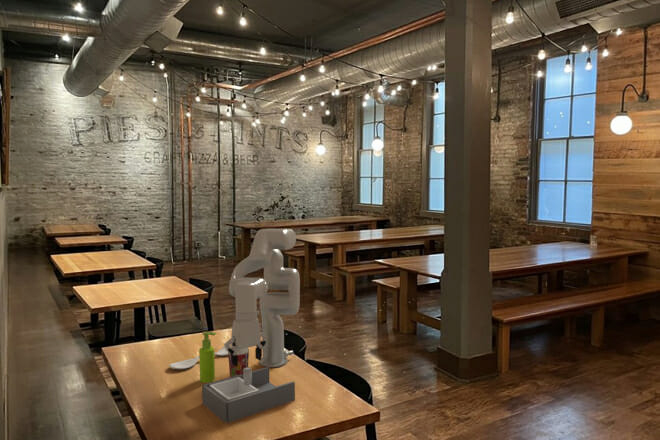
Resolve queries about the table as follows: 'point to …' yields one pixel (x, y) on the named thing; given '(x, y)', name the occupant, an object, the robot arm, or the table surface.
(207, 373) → the soap dispenser
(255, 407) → the bay
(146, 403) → the table surface
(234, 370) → the smoothie
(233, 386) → the drawer
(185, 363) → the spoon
